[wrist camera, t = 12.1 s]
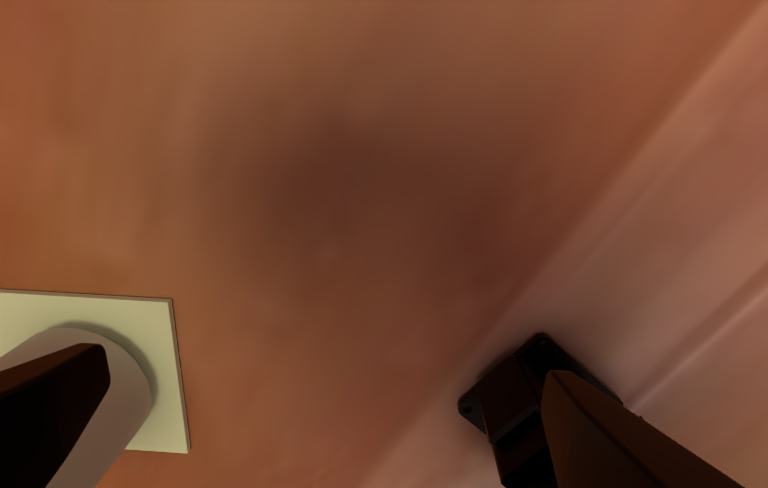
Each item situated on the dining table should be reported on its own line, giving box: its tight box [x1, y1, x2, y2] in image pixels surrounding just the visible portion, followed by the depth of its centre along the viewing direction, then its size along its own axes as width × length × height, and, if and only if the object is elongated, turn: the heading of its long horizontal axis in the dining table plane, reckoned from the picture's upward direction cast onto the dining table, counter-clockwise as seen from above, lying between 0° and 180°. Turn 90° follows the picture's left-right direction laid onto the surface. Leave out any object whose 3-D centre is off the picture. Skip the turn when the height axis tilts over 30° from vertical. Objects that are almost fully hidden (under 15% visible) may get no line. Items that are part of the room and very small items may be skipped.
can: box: [0, 328, 152, 488], centre depth 19 cm, size 8×8×12 cm
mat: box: [0, 289, 191, 453], centre depth 25 cm, size 10×10×1 cm
